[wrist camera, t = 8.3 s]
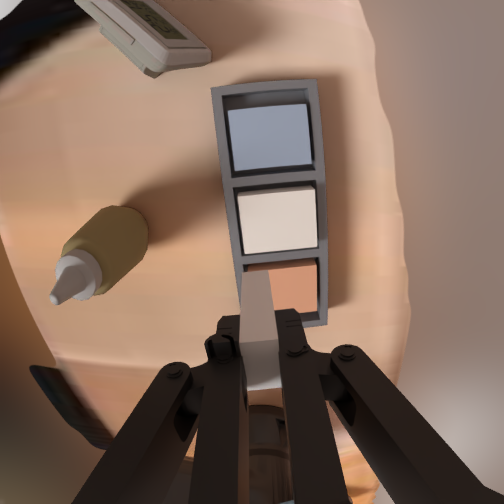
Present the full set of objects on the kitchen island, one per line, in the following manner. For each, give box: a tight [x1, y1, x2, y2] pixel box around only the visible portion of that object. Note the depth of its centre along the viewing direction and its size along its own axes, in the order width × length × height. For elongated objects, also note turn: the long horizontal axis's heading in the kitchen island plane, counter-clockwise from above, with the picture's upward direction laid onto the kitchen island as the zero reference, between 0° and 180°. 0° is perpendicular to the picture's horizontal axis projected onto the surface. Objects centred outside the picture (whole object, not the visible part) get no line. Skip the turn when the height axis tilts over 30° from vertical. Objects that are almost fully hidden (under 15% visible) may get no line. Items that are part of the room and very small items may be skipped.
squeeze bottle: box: [49, 205, 148, 305], centre depth 29 cm, size 8×8×18 cm
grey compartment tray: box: [211, 79, 328, 328], centre depth 35 cm, size 30×11×4 cm, turn 6°
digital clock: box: [74, 0, 212, 78], centre depth 23 cm, size 16×9×11 cm, turn 30°
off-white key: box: [238, 185, 317, 254], centre depth 33 cm, size 6×8×2 cm
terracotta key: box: [248, 257, 317, 313], centre depth 38 cm, size 6×8×2 cm
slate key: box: [228, 104, 312, 171], centre depth 31 cm, size 6×8×2 cm
